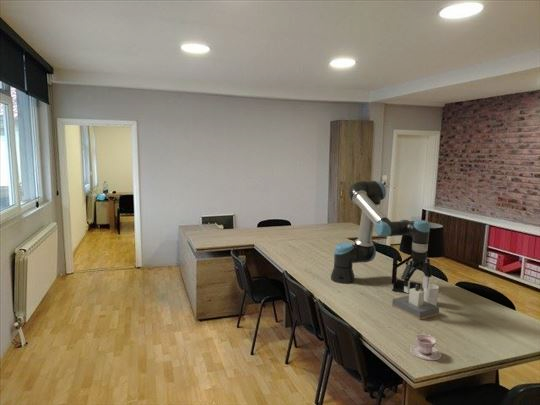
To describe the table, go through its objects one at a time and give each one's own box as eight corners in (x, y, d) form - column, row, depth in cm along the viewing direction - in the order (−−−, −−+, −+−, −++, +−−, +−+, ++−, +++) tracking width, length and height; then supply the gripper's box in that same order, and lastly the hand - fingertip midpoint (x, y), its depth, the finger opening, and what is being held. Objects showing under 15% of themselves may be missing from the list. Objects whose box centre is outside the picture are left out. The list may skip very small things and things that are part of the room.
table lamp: (395, 278, 243) (399, 218, 237) (442, 286, 230) (447, 223, 225) (389, 291, 220) (393, 225, 214) (441, 300, 208) (447, 230, 202)
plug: (408, 307, 195) (410, 283, 193) (413, 305, 197) (415, 282, 195) (417, 311, 190) (419, 287, 188) (422, 310, 192) (424, 286, 190)
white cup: (424, 299, 209) (426, 282, 208) (439, 303, 204) (441, 285, 203) (420, 303, 203) (421, 286, 201) (435, 307, 198) (436, 289, 197)
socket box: (392, 306, 199) (392, 298, 198) (410, 301, 205) (411, 294, 204) (419, 319, 183) (420, 312, 182) (438, 314, 189) (439, 307, 189)
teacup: (408, 343, 160) (409, 330, 159) (438, 348, 157) (440, 334, 156) (410, 358, 149) (412, 343, 148) (443, 363, 145) (444, 348, 144)
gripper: (407, 255, 181) (404, 296, 184) (442, 250, 192) (438, 288, 195) (396, 251, 187) (392, 291, 190) (430, 246, 199) (426, 284, 202)
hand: (415, 290), depth 193 cm, fingers open, 13 cm apart
